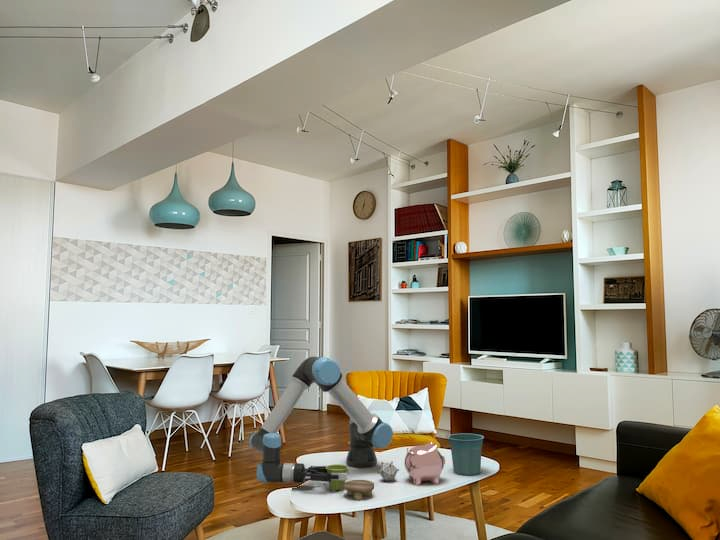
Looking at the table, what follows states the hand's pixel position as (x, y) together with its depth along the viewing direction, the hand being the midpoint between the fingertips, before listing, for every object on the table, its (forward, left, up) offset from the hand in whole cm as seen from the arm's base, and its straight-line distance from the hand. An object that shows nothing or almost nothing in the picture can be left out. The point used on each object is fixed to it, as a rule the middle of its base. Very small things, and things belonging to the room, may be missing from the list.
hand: (348, 473), depth 228 cm
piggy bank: (-14, +32, -6) cm, 36 cm away
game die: (-13, +16, -6) cm, 22 cm away
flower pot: (-30, +52, -6) cm, 60 cm away
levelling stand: (+9, +5, -6) cm, 12 cm away
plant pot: (0, -5, -6) cm, 8 cm away
